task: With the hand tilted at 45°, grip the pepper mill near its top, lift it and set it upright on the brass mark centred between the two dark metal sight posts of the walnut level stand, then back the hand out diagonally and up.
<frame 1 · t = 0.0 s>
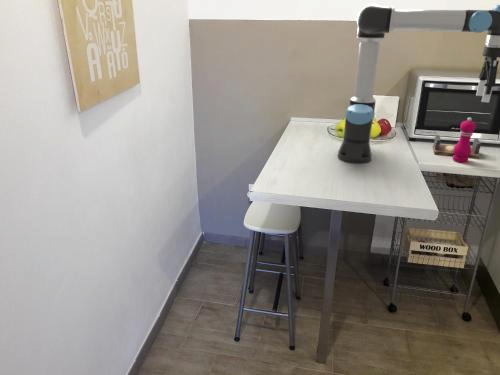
hand: (482, 98, 172), 28 cm above the kitchen counter, tool pointing down, fingers open, 13 cm apart
level stand: (454, 152, 193), on the kitchen counter
pepper mill: (459, 160, 183), on the kitchen counter
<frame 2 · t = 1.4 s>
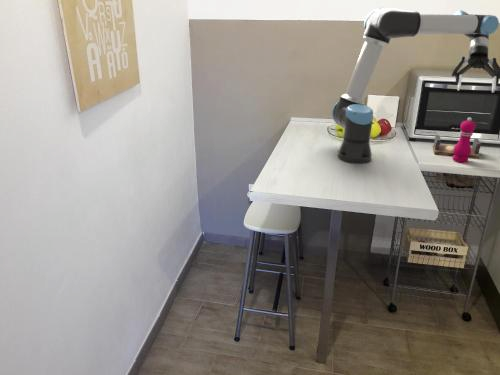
hand: (476, 89, 175), 31 cm above the kitchen counter, tool tilted 45°, fingers open, 13 cm apart
nothing on the kitchen counter moved.
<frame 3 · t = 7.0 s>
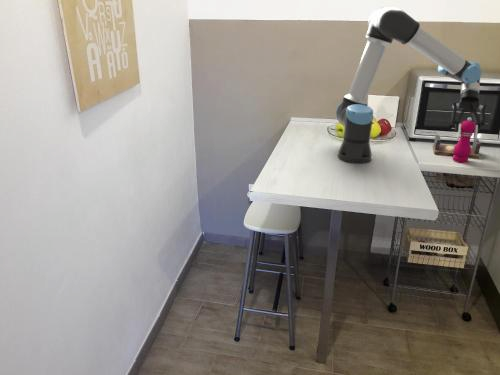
hand: (466, 138, 175), 11 cm above the kitchen counter, tool tilted 45°, fingers closed on pepper mill, 6 cm apart
pepper mill: (459, 160, 183), on the kitchen counter, touching gripper
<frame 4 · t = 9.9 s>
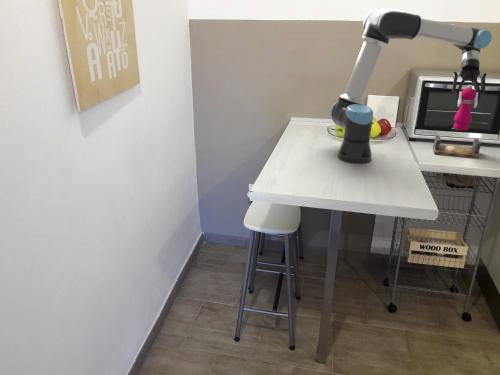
hand: (467, 105, 180), 24 cm above the kitchen counter, tool tilted 45°, fingers closed on pepper mill, 6 cm apart
pepper mill: (460, 128, 187), point 12 cm above the kitchen counter, touching gripper
when the fingers open (14 cm above the kitchen counter, at t = 12.6 s): pepper mill stays where it is, resting on level stand.
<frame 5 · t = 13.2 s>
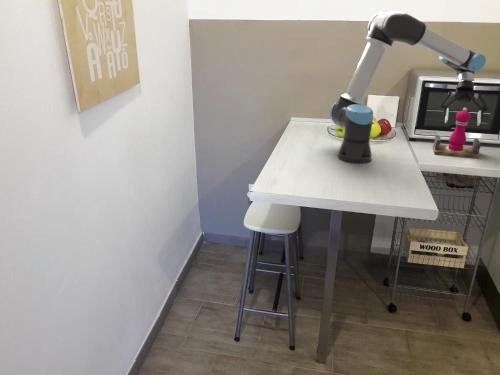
hand: (462, 123, 185), 15 cm above the kitchen counter, tool tilted 45°, fingers open, 13 cm apart
pepper mill: (455, 149, 192), point 2 cm above the kitchen counter, touching level stand
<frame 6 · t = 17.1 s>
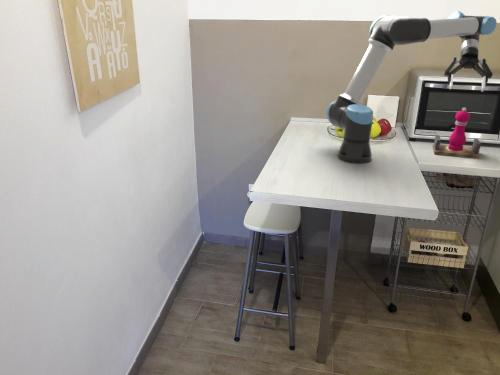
hand: (466, 88, 186), 29 cm above the kitchen counter, tool tilted 45°, fingers open, 13 cm apart
nothing on the kitchen counter moved.
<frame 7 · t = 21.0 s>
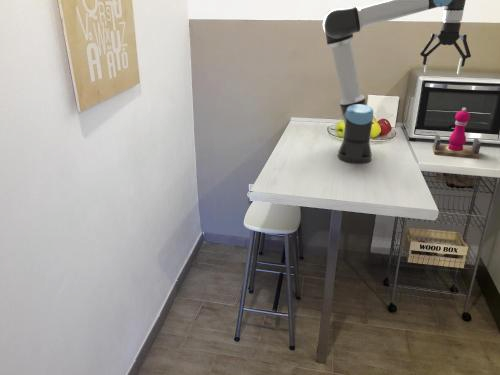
hand: (441, 73, 179), 37 cm above the kitchen counter, tool pointing down, fingers open, 13 cm apart
nothing on the kitchen counter moved.
at the end: pepper mill 0.0 cm off-centre on the level stand, point 1.5 cm above the level stand's base; pepper mill tilted 0°; the gripper is holding nothing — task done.
